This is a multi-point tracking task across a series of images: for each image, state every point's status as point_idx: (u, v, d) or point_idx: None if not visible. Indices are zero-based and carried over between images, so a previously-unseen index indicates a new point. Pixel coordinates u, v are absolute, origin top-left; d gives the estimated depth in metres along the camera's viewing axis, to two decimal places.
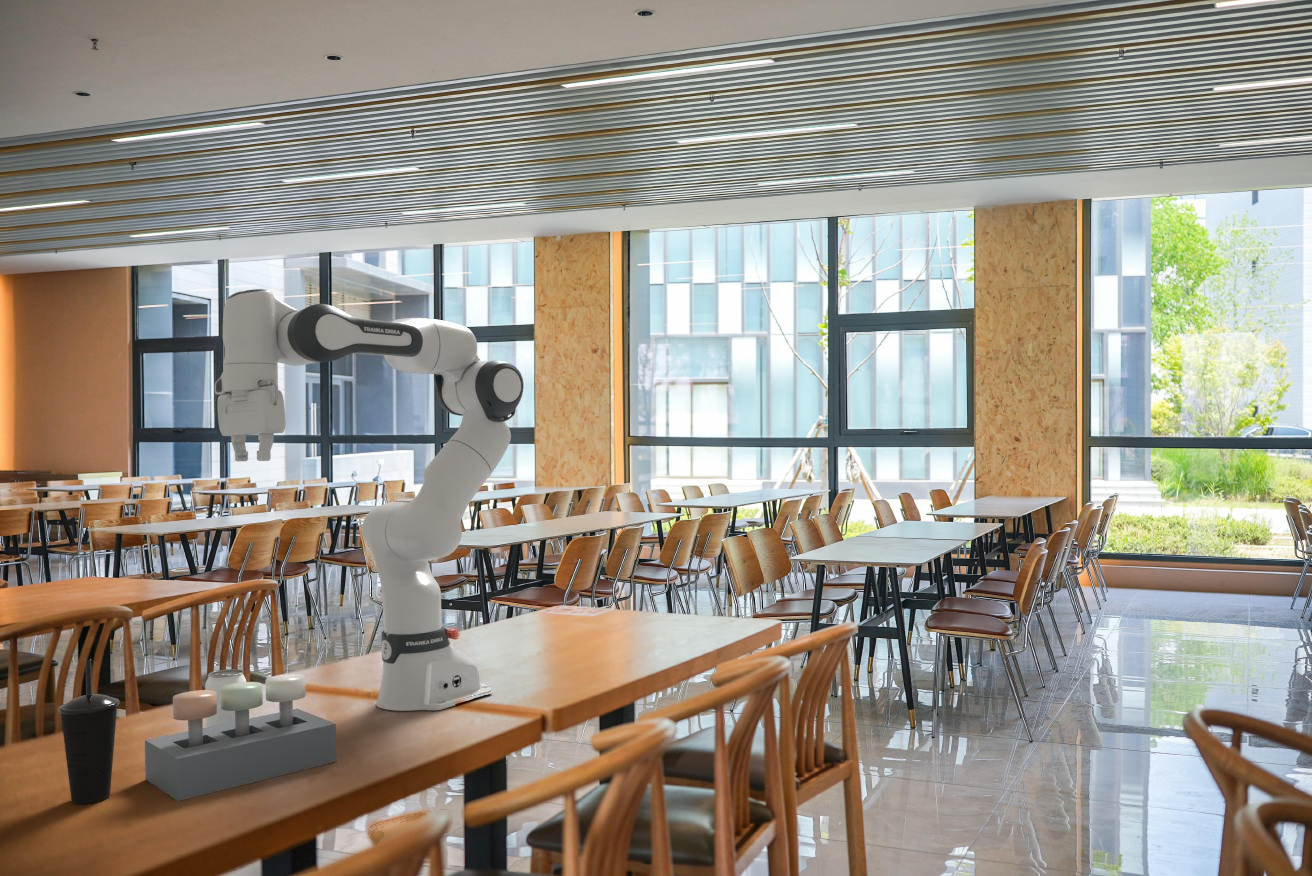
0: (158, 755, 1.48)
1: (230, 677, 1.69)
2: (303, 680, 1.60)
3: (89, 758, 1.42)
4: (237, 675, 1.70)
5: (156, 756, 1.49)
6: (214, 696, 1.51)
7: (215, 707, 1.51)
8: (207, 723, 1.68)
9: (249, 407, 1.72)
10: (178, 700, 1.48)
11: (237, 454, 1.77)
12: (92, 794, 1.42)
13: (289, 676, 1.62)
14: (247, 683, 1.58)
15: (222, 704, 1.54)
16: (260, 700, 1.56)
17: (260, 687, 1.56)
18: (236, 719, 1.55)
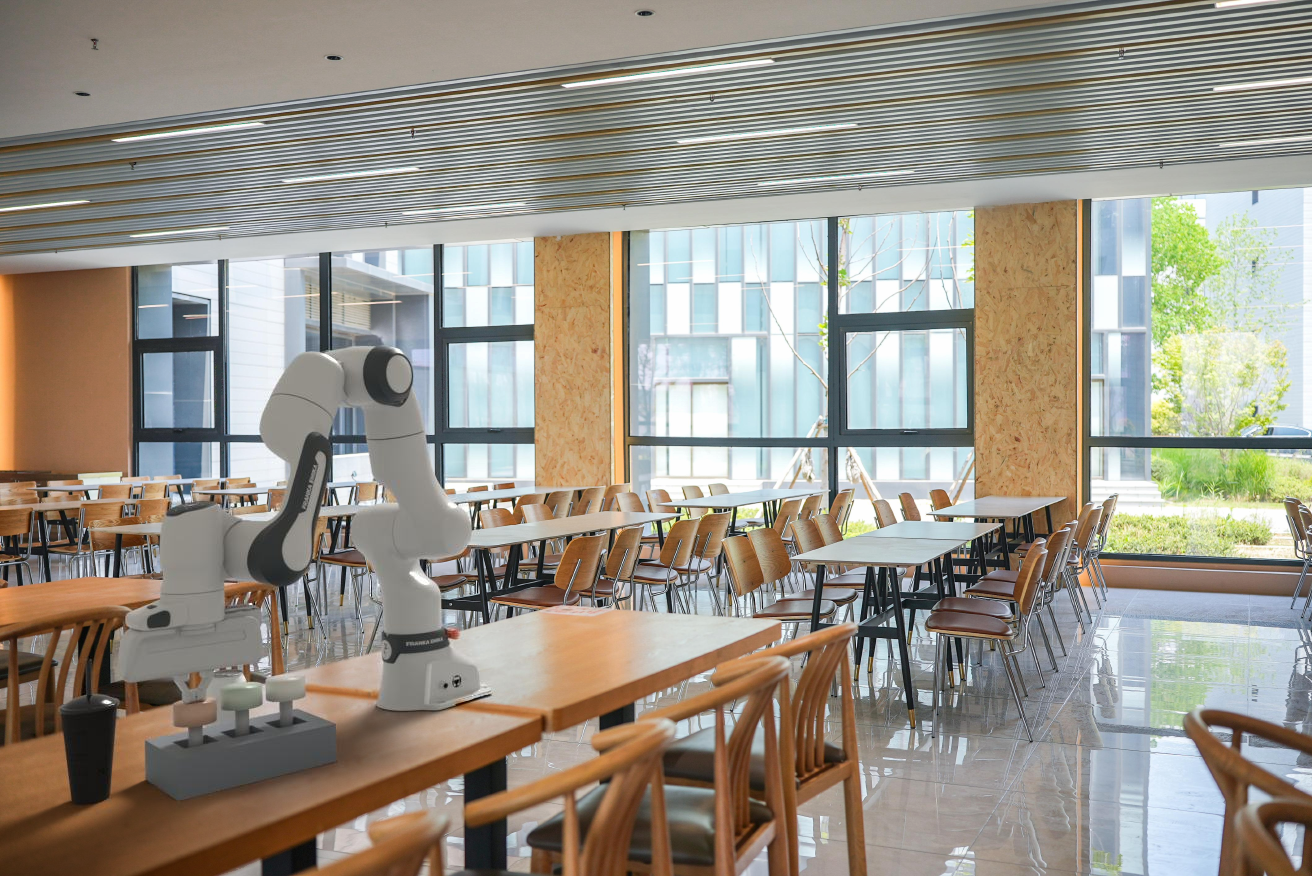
0: (158, 755, 1.48)
1: (230, 677, 1.69)
2: (303, 680, 1.60)
3: (89, 758, 1.42)
4: (237, 675, 1.70)
5: (156, 756, 1.49)
6: (214, 703, 1.51)
7: (215, 714, 1.51)
8: None
9: (218, 638, 1.52)
10: (178, 707, 1.48)
11: (193, 694, 1.50)
12: (92, 794, 1.42)
13: (289, 676, 1.62)
14: (247, 683, 1.58)
15: (222, 704, 1.54)
16: (260, 700, 1.56)
17: (260, 687, 1.56)
18: (236, 719, 1.55)
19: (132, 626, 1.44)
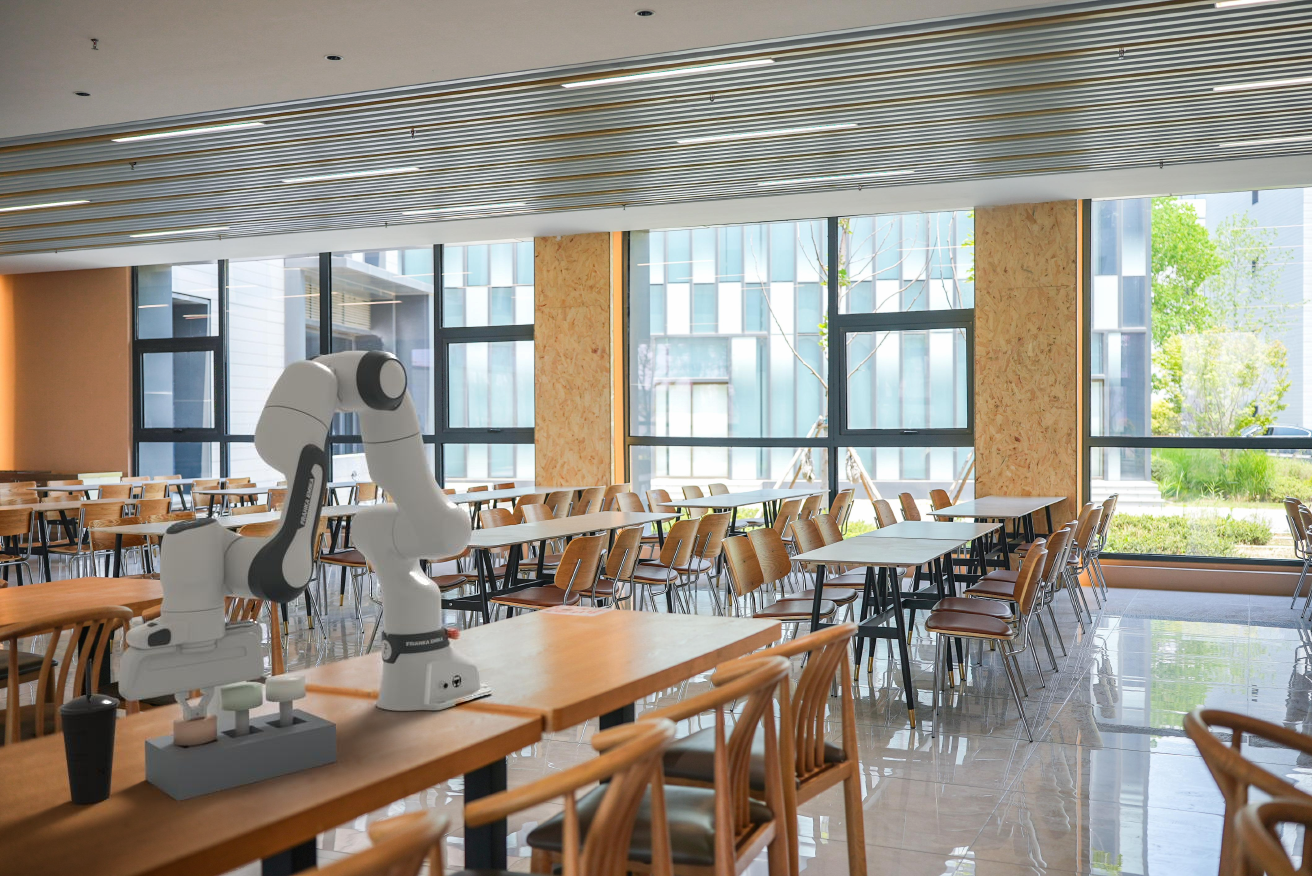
0: (158, 755, 1.48)
1: None
2: (303, 680, 1.60)
3: (89, 758, 1.42)
4: None
5: (156, 756, 1.49)
6: (214, 720, 1.51)
7: (215, 731, 1.51)
8: None
9: (218, 655, 1.52)
10: (178, 725, 1.48)
11: (194, 711, 1.50)
12: (92, 794, 1.42)
13: (289, 676, 1.62)
14: (247, 683, 1.58)
15: (222, 704, 1.54)
16: (260, 700, 1.56)
17: (260, 687, 1.56)
18: (236, 719, 1.55)
19: (133, 644, 1.44)
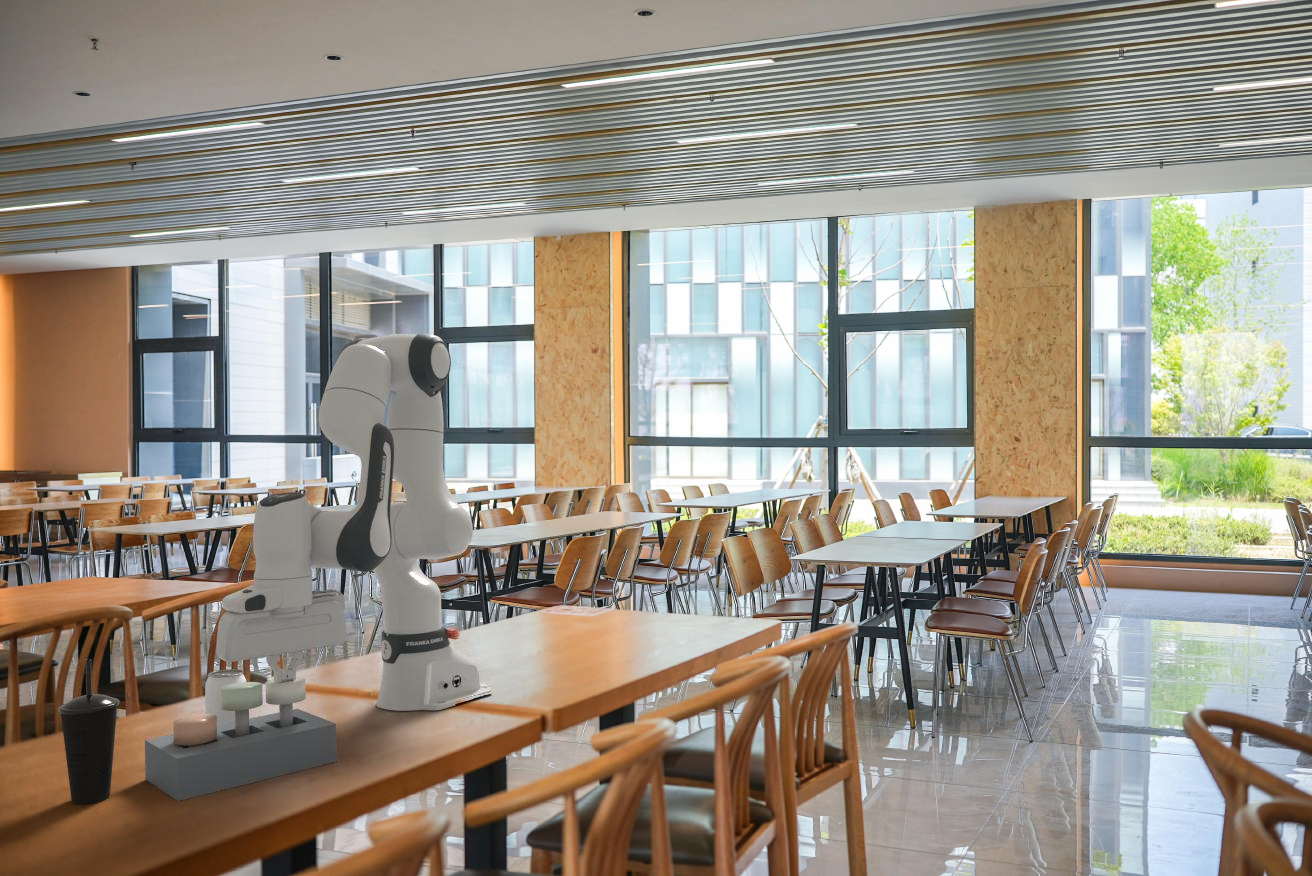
0: (158, 755, 1.48)
1: (230, 677, 1.69)
2: (303, 683, 1.60)
3: (89, 758, 1.42)
4: (237, 675, 1.70)
5: (156, 756, 1.49)
6: (214, 720, 1.51)
7: (215, 731, 1.51)
8: None
9: (306, 621, 1.62)
10: (178, 725, 1.48)
11: (284, 674, 1.60)
12: (92, 794, 1.42)
13: None
14: (247, 683, 1.58)
15: (222, 704, 1.54)
16: (260, 700, 1.56)
17: (260, 687, 1.56)
18: (236, 719, 1.55)
19: (230, 609, 1.54)
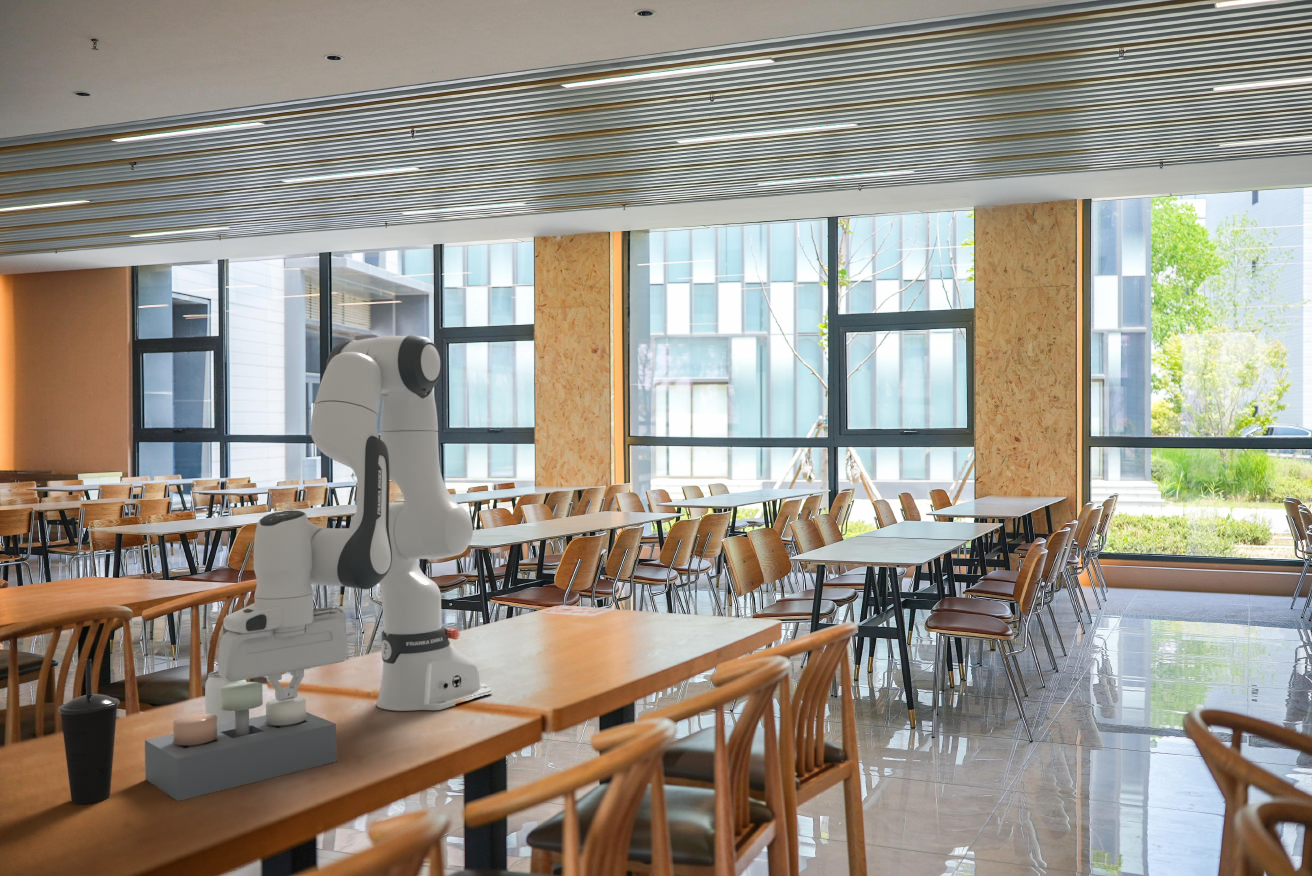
0: (158, 755, 1.48)
1: None
2: (303, 703, 1.60)
3: (89, 758, 1.42)
4: None
5: (156, 756, 1.49)
6: (214, 720, 1.51)
7: (215, 731, 1.51)
8: None
9: (307, 639, 1.62)
10: (178, 725, 1.48)
11: (286, 692, 1.60)
12: (92, 794, 1.42)
13: (289, 699, 1.62)
14: (247, 683, 1.58)
15: (222, 704, 1.54)
16: (260, 700, 1.56)
17: (260, 687, 1.56)
18: (236, 719, 1.55)
19: (231, 629, 1.54)
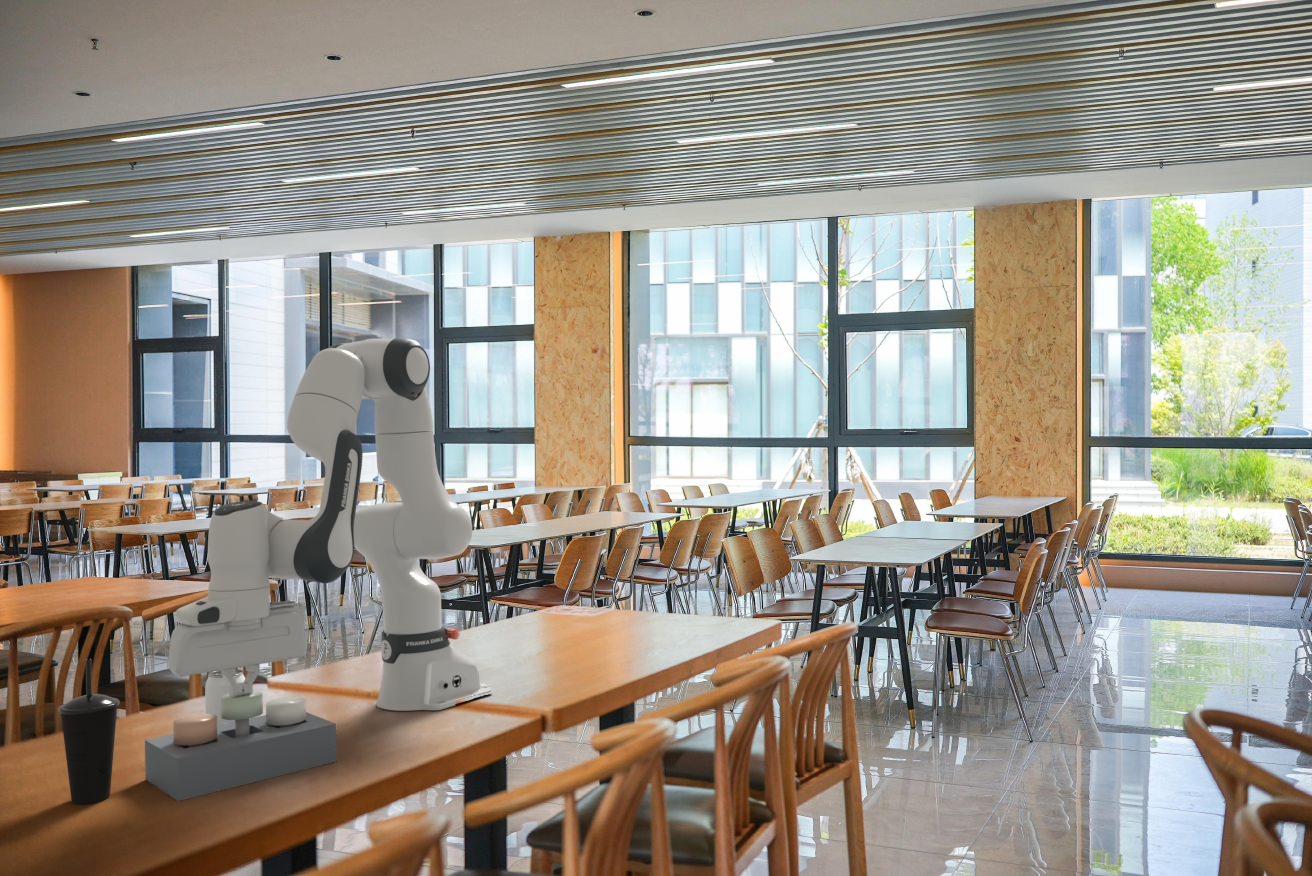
0: (158, 755, 1.48)
1: None
2: (303, 703, 1.60)
3: (89, 758, 1.42)
4: (237, 675, 1.70)
5: (156, 756, 1.49)
6: (214, 720, 1.51)
7: (215, 731, 1.51)
8: None
9: (263, 634, 1.57)
10: (178, 725, 1.48)
11: (240, 688, 1.55)
12: (92, 794, 1.42)
13: (289, 699, 1.62)
14: None
15: (222, 713, 1.54)
16: (260, 709, 1.56)
17: (260, 696, 1.56)
18: (236, 728, 1.55)
19: (183, 622, 1.49)
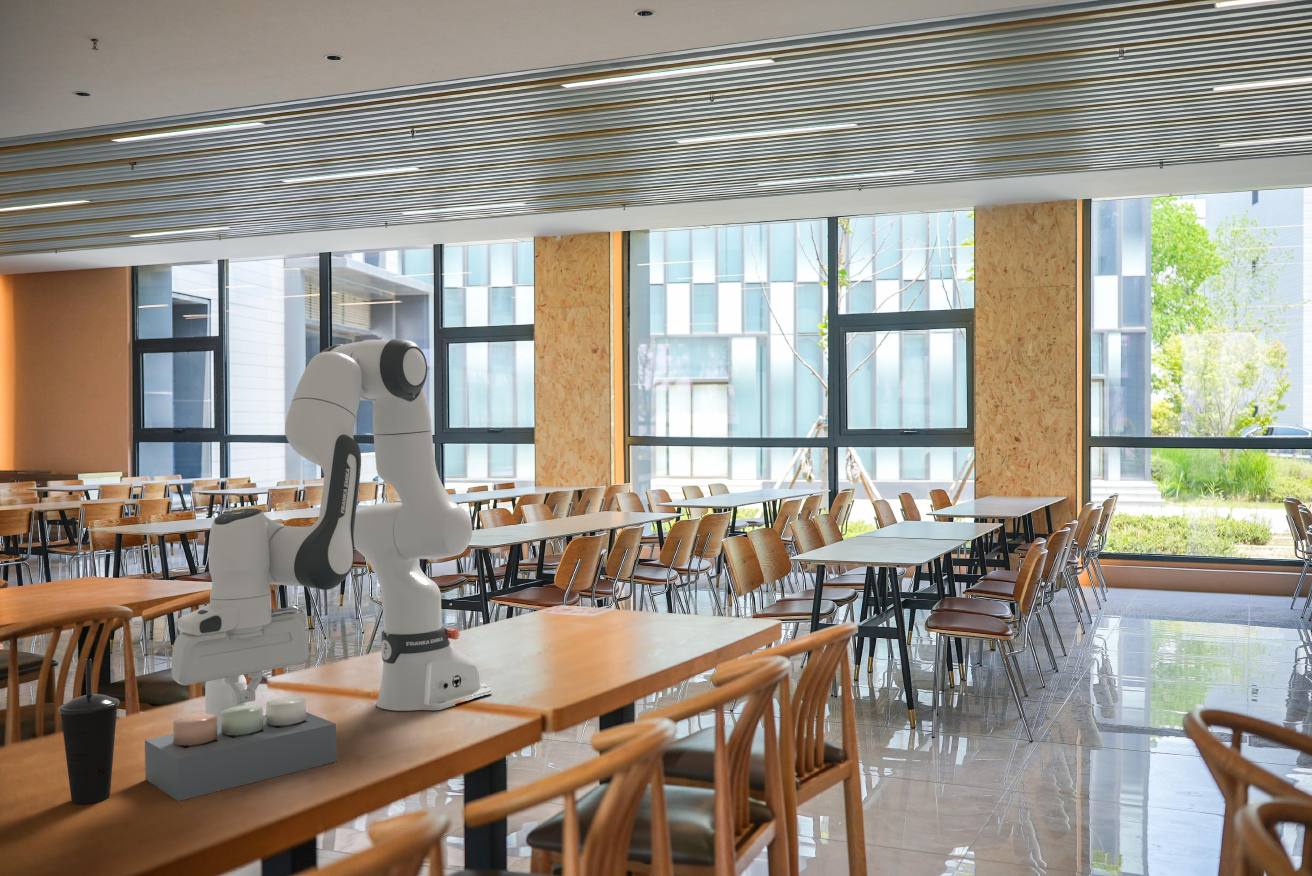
0: (158, 755, 1.48)
1: None
2: (303, 703, 1.60)
3: (89, 758, 1.42)
4: None
5: (156, 756, 1.49)
6: (214, 720, 1.51)
7: (215, 731, 1.51)
8: None
9: (265, 641, 1.57)
10: (178, 725, 1.48)
11: (243, 695, 1.56)
12: (92, 794, 1.42)
13: (289, 699, 1.62)
14: (247, 706, 1.58)
15: (222, 728, 1.54)
16: (260, 724, 1.56)
17: (260, 711, 1.56)
18: None
19: (185, 631, 1.50)
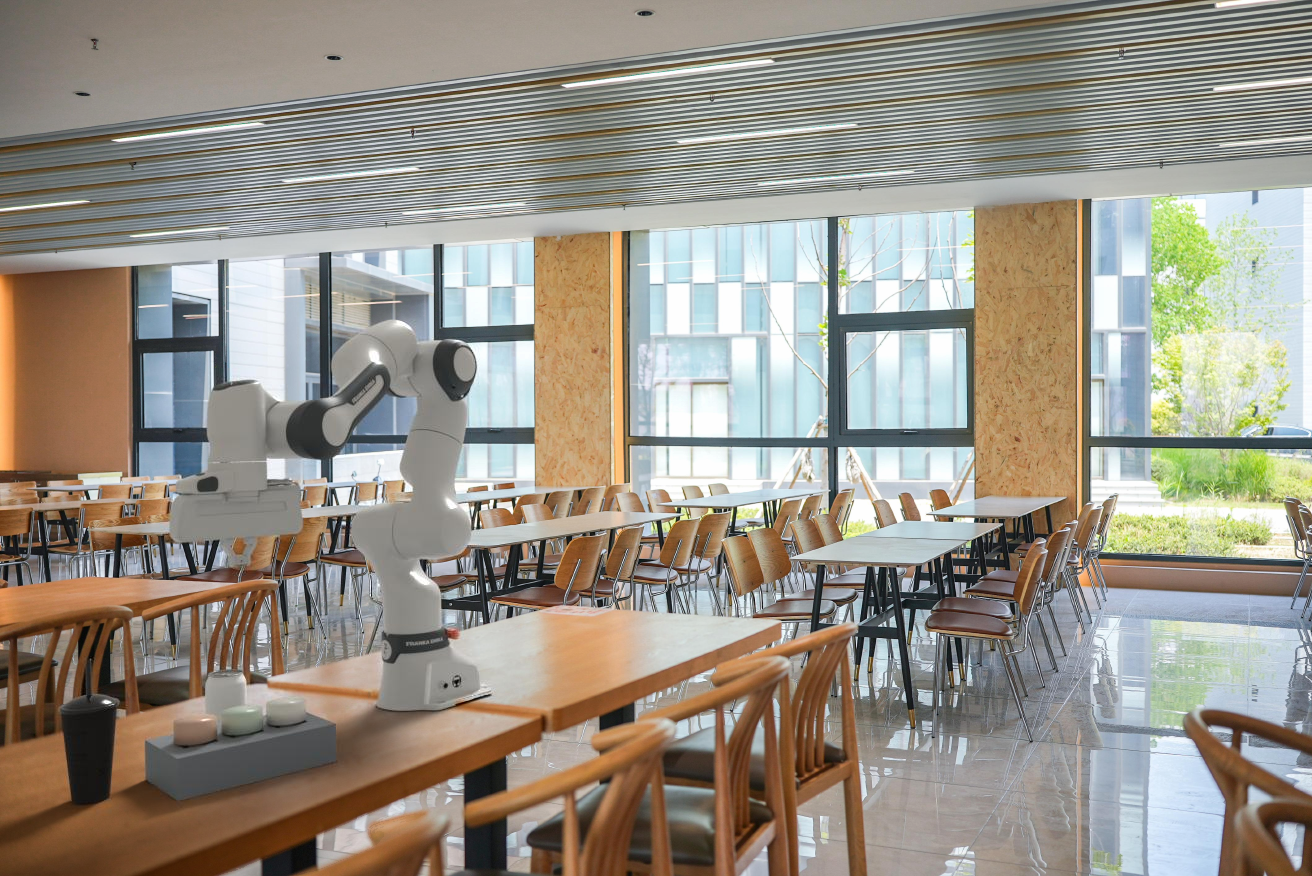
0: (158, 755, 1.48)
1: (230, 677, 1.69)
2: (303, 703, 1.60)
3: (89, 758, 1.42)
4: (237, 675, 1.70)
5: (156, 756, 1.49)
6: (214, 720, 1.51)
7: (215, 731, 1.51)
8: None
9: (261, 508, 1.62)
10: (178, 725, 1.48)
11: (239, 559, 1.60)
12: (92, 794, 1.42)
13: (289, 699, 1.62)
14: (247, 706, 1.58)
15: (222, 728, 1.54)
16: (260, 724, 1.56)
17: (260, 711, 1.56)
18: None
19: (183, 490, 1.54)
